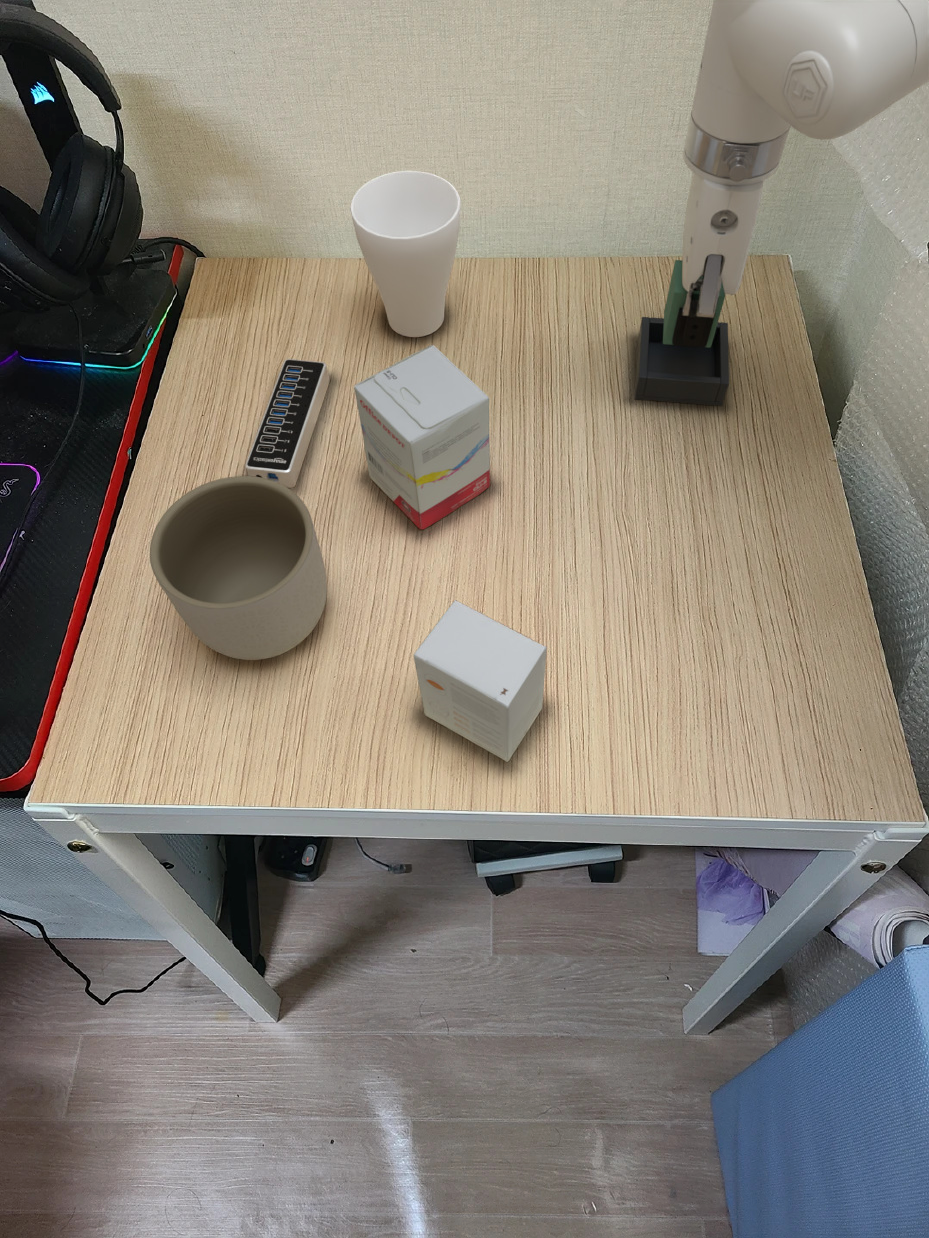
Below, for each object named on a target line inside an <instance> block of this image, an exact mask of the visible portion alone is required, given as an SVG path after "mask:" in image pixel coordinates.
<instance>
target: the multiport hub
mask: <svg viewBox="0 0 929 1238" xmlns="http://www.w3.org/2000/svg"><path fill="white" fill-rule="evenodd" d="M330 382H331V381H330V376H329V371H328V368H327V364H326V362H324V361H314V360H304V359H295V358H294V359H293V358H286V359H284V360H283V363H282V365H281V368H280V370H279V373H278V375H277V378H276V381H275V383H274V385H273V386H274V387H273V389H272V391H271V394H270V397H269V400H268V403H267V405H266V407H265V410H264V413H263V416H262V418H261V421H260V424H259V427H258V430H257V432H256V434H255V437H254V440H253V443H252V445H251V448H250V451H249V453H248V456H247V459H246V461H245V465H244V467H245V469H246V470H245V471H246V472H247V474H248V475H247V476H254V477H261V478H265V479H269V480H272V481H275V482H278V483H280V484H282V485H284V486H286V487H287V488H289V489H292V488H294V487H296V485H297V482H298V479H299V475H300V473H301V470H302V466H303V464H304V461H305V458H306V456H307V455H306V454H307V452H308V449H309V445H310V443H311V439H312V436H313V433H314V431H315V428H316V425H317V422H318V418H319V416H320V412H321V409H322V406H323V403H324V400H325V397H326V394H327V391H328V388H329V385H330Z"/></svg>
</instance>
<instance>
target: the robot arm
mask: <svg viewBox="0 0 929 1238" xmlns="http://www.w3.org/2000/svg"><path fill="white" fill-rule="evenodd" d="M709 16H710V17H709V21H708V26H707V31H706V36H705V41H704V47H703V51H702V57H701V61H700V67H699V71H698V75H697V82H696V86H695V92H694V97H693V101H692V106H691V111H690V117H689V121H688V127H687V130H686V137H685V141H684V147H683V151H682V156H683V160H684V161H683V162H684V163H685V165H686V166H687V168H688V169H689V170H690V171H691V172H692V176H691V181H690V186H689V191H688V195H687V201H686V207H685V212H684V220H683V231H682V256H681V257H682V259H681V260H682V284H683V287H684V288H685V290H686V295H685V300H684V305H683V308H679V312H678V316H677V321H676V325H675V329H674V334H673V338H672V344H673V345H675V346H686V347H699V348H704V347H706V345H707V342H708V339H709V335H710V331H711V328H712V324H713V321H714V317H715V310H716V306H717V301H718V297H719V292H720V289H721V284H722V283H723V288H724V292H725V295H731V296H735V295H736V294H737V293H738V292H739V291H740V287H741V285H742V279H743V276H744V272H745V267H746V264H747V260H748V256H749V252H750V248H751V243H752V239H753V236H754V232H755V227H756V223H757V218H758V214H759V209H760V204H761V198H762V193H763V187H764V181H765V180H767V179H769V178H770V177H772V176H773V175H774V174H776V171H777V170H778V168H779V165H780V162H781V159H782V156H783V153H784V149H785V146H786V143H787V140H788V136H789V133H790V130H791V128H793V129H794V130H796V131H797V132H799V133H800V134H801V135H804V136H806V137H808V138H811V139H815V140H821V141H822V140H834V139H837V138H841V137H843V136H845V135H848V134H849V133H851V132H853V131H855V130H857V129H858V128H860V127H861V126H863V125H864V124H865V123H867V122H869V121H870V120H872V119H874V118H875V117H877V116H878V115H880V114H881V113H883V112H884V111H886V110H887V109H888V108H890V107H891V106H892V105H894V104H896V103H897V102H899V101H900V100H902V99H903V98H905V97H906V96H908V95H910V94H911V93H913V92H914V91H916V90H917V89H919V88H920V87H922V86H924V85H925V84H927V83H929V0H713V1H712V6H711V10H710V15H709ZM700 276H702V279H699V277H700ZM694 291H700V296H699V300H693V301H692V298H693V293H694Z"/></svg>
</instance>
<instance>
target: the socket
mask: <svg viewBox="0 0 929 1238" xmlns="http://www.w3.org/2000/svg"><path fill="white" fill-rule="evenodd" d="M663 328H664V317H649V316H641V321H640V325H639V332H638V336H637V348H636V350H637V351H636V364H635V365H636V366H635V386H634V400H639V401H640V400H642V401H651V402H653V401H654V402H667V403H680V404H690V405H691V404H692V405H705V406H715V407H716V406H717V407H722V406H723V405H724V402H725V398H726V394H727V392H728V389H729V385H730V366H729V364H730V362H729V361H730V359H729V358H730V357H729V323H728V322H723V321H721V322H720V321H718V323H717V327H716V331H715V334H714V338H713V341H712V345H711V348H708V347H704V348H699V347H686V346H675V345H669V344H663Z"/></svg>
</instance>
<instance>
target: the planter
mask: <svg viewBox="0 0 929 1238" xmlns="http://www.w3.org/2000/svg"><path fill="white" fill-rule="evenodd" d="M151 536H152V537H151V540H150V545H149V562H150V566H151V570H152V573H153V575H154V577H155V579H156V581H157V582H158V584H159V586H160V587H161V589H162V591H163V592H164V594H165V595H166V596H167V598H168V599H169V601H170V602H171V604H172V606H173V607H174V609H175V610H176V612H177V614H178V615H179V617H180V618H181V620H182V621H183V623H184V624H185V625H186V626H187V628H188V629H189V630H190V632H191V633H192V634H193V635H194V636H195V637H196V638H197V639H198V640H199V641H200V642H202V644H204V645H205V646H206V647H208V648H209V649H211V650H213V651H214V652H217V653H219V654H221V655H223V656H226V657H229V658H233V659H236V660H243V661H257V660H258V661H259V660H267V659H271V658H275V657H278V656H280V655H282V654H284V653H287V652H289V651H290V650H292V649H294V648H295V647H297V646H298V645H300V644H301V643H302V642H303V641H304V640H305V639H306V638H307V637H308V636H309V635H310V634H311V633H312V632H313V630H314V629H315V628H316V626H317V624H318V623H319V621H320V619H321V617H322V614H323V612H324V609H325V605H326V601H327V595H328V581H327V571H326V567H325V562H324V558H323V554H322V550H321V547H320V543H319V539H318V536H317V532H316V529H315V525H314V521H313V518H312V515H311V513H310V510H309V509H308V507H307V505H306V504H305V502H304V501H303V500H302V498H300V497H299V495H298V494H297V493H295V492H294V491H293V490H292V489H291V488H287V487H286V486H284V485H282V484H280V483H278V482H275V481H272V480H269V479H265V478H261V477H254V476H249V475H237V476H235V475H234V476H228V477H222V478H217V479H215V480H211V481H209V482H206V483H203V484H201V485H199V486H197V487H195V488H193V489H191V490H190V491H188V492H186V493H184V494H183V495H181V497H179V498H178V499H177V500H176V501H175V502H173V503H172V505H170V507H168V509H166V511H165V512H164V514H162V515H161V518H160V519H159V520H158V522H157V524H156V526H155V529H154V531H153V533H152V535H151Z"/></svg>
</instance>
